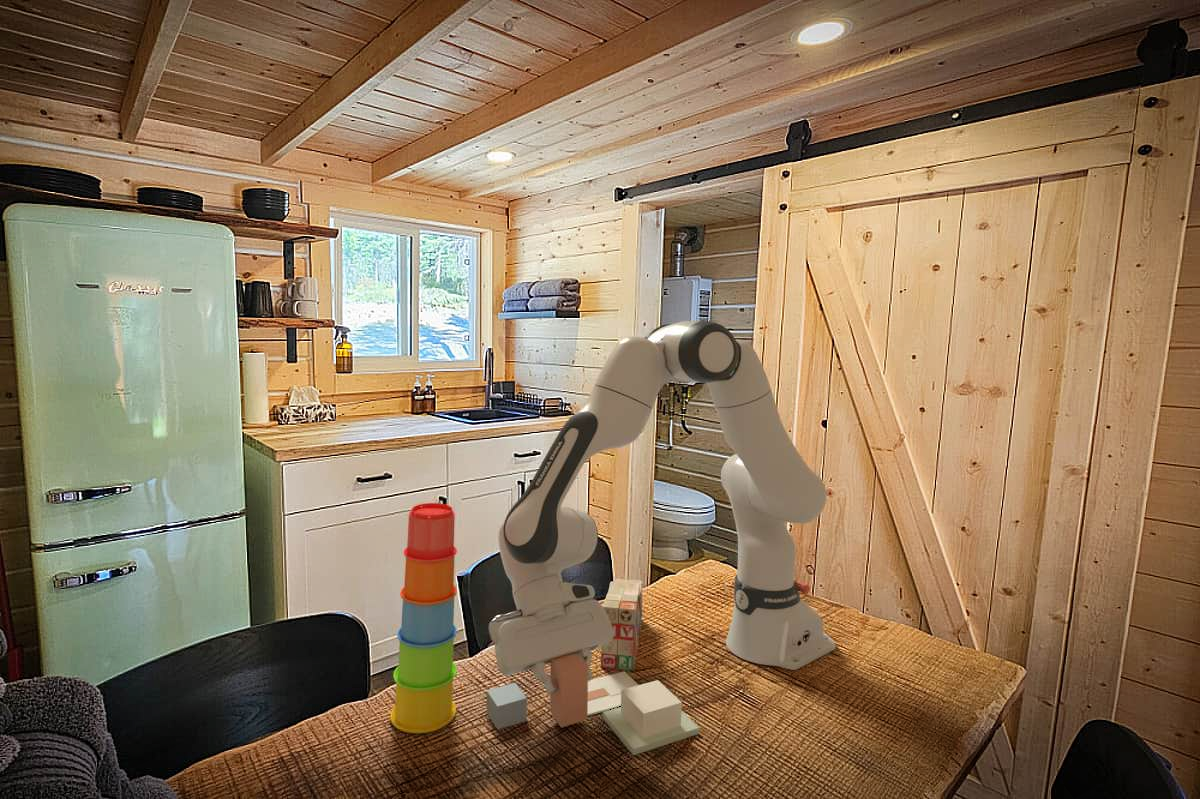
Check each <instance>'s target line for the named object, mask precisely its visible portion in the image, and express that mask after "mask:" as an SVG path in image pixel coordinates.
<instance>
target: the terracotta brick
mask: <svg viewBox="0 0 1200 799" xmlns="http://www.w3.org/2000/svg"><path fill="white" fill-rule="evenodd" d="M549 675H550V676H549V677H550V678H551V679H553V678H556V679H557V684H558V686H559V690H558V691H557V692H555V693H552V694H549V696H550V698H549V700H550V701H549V703H550V704H549V706H550V707H549V710H550V711H549V712H550V714H551V715H552V716H553V718H554V719H555V720H556V722H557V724H558V725H559V726H560V728H565V727H567V726H570V725H574V724H579V723H580V722H581V723H582V722H585V721H588V716H587V715H588V665H587V664H586V663H585V662H584V661H583V660H582V658H581V657H580V656H579V655H578V654H577V653H572V654H568V655H564V656H560V657H556V658H552V659H551V663H550V674H549Z"/></svg>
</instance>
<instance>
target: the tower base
mask: <svg viewBox="0 0 1200 799" xmlns="http://www.w3.org/2000/svg"><path fill="white" fill-rule="evenodd" d="M682 706H683V702H682V701H681V700H680V699H679V698H678V697H677V696H675V694H673V693H672V691H670V689H668V688H667V687H666V686H665V685H664V684H663V683H661V681H660V680H658V679H656V680H653V681H650V682H646V683H642V684H638V686H634V687H630V688H627V689H623V690H621V707H618V708H614V709H611V710H607V711H604V712H602V719H603V720H604V722H605V723H606V724H607V725H608V726H609V728H610V729H611V730H612V732H613V733H615V735H616V736H617V738H619V740H620V741H621V742H622V744H623V745H624V746H625V747H626V749H628V751H629V752H630V753H631V755H632V756H636V755H639V754H641V753H644V752H648V751H651V750H654V749H657V748H660V747H663V746H666V745H670V744H672V743H675V742H678V741H681V740H684V739H688V738H690V737H694V736H696V735H699V734H700V728H701V727H700V726H698V724H696V722H694V720H693V719H691V718H690V717H689V716H688V715H687V714H686V713H685V712H684V711H683V710H682Z"/></svg>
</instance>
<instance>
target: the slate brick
mask: <svg viewBox="0 0 1200 799" xmlns="http://www.w3.org/2000/svg"><path fill="white" fill-rule="evenodd" d="M486 714H487V716H488V718H489V717H490V718H489V720H490V721H491V722H492V724H493V723H494V724H493V725H495V726H494V727H495V729H496V728H497V729H498V730H501V729H500V728H502V729H504V728H503V727H505V728H507V726H508V727H511V726H514V724H515V725H518V724H520V722H521V723H524V722H527V720H528V697H527V696H526V695H525V693H524V692H523V690H522V689H521V688H520V687H519V686H518V684H517V683H516V682H513V683H509V684H505V685H502V686H499V687H498V686H497V687H494V688H490V689H487V690H486ZM497 729H496V730H497Z"/></svg>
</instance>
